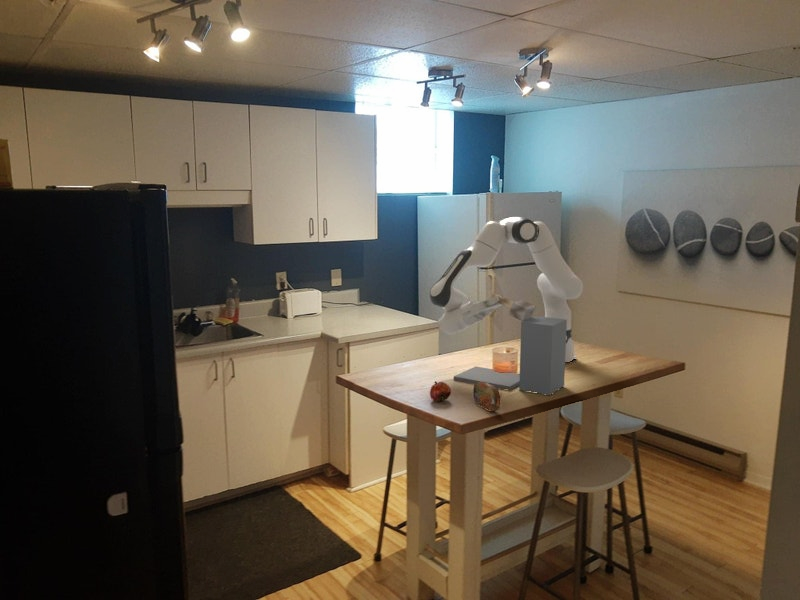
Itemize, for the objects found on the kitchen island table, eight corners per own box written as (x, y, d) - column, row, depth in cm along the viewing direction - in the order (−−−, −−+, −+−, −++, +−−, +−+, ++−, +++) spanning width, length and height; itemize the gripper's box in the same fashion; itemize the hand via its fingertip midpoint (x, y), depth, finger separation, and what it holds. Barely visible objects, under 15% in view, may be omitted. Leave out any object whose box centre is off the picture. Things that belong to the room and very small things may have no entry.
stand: (519, 390, 232) (521, 321, 228) (534, 381, 244) (536, 316, 240) (549, 396, 226) (552, 325, 222) (564, 386, 237) (566, 319, 233)
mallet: (486, 303, 239) (490, 291, 237) (495, 300, 245) (499, 289, 244) (522, 321, 231) (527, 309, 230) (531, 318, 238) (535, 306, 236)
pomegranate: (453, 408, 219) (446, 385, 226) (455, 396, 214) (448, 373, 221) (433, 412, 218) (426, 388, 225) (434, 400, 213) (427, 376, 220)
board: (453, 379, 246) (453, 376, 246) (475, 369, 261) (475, 366, 260) (509, 390, 233) (509, 386, 232) (529, 379, 247) (529, 375, 247)
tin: (472, 401, 220) (472, 378, 219) (480, 400, 221) (480, 377, 220) (493, 415, 206) (493, 390, 205) (501, 414, 207) (502, 389, 206)
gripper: (456, 308, 239) (485, 293, 231) (481, 301, 256) (509, 287, 248) (463, 323, 238) (492, 308, 231) (488, 315, 255) (515, 301, 247)
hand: (501, 297), depth 239 cm, fingers closed on mallet, 2 cm apart
